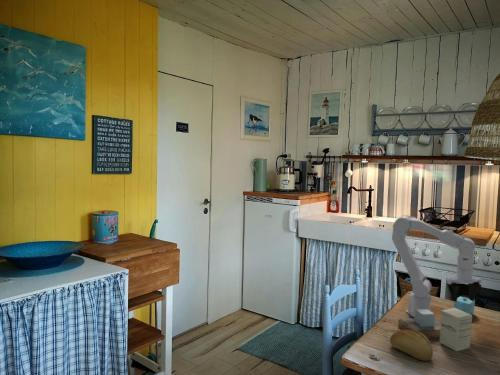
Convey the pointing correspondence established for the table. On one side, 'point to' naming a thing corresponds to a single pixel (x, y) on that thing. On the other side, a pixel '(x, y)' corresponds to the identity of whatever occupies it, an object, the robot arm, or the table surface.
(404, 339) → the bread roll
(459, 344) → the supplement box
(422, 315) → the dusty blue block
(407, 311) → the robot arm
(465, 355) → the table surface
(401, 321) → the wooden tray
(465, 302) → the light blue knobbed box
